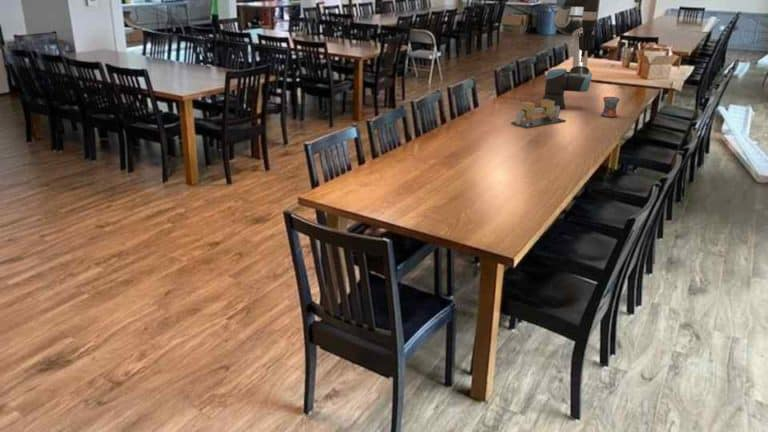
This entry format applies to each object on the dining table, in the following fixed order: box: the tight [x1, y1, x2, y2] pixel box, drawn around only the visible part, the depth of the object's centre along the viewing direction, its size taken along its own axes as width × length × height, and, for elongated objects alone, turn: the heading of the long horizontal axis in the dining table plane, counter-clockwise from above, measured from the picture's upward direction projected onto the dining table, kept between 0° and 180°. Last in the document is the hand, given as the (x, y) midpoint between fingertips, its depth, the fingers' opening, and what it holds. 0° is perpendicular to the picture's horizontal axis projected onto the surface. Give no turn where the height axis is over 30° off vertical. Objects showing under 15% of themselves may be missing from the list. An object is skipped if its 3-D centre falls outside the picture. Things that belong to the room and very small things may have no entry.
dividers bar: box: [515, 101, 560, 125], centre depth 339 cm, size 7×30×11 cm, turn 122°
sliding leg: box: [539, 99, 555, 120], centre depth 342 cm, size 7×4×10 cm, turn 32°
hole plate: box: [510, 116, 567, 129], centre depth 341 cm, size 12×30×2 cm, turn 122°
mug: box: [601, 96, 621, 118], centre depth 358 cm, size 12×9×11 cm
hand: (583, 62), depth 350 cm, fingers closed
